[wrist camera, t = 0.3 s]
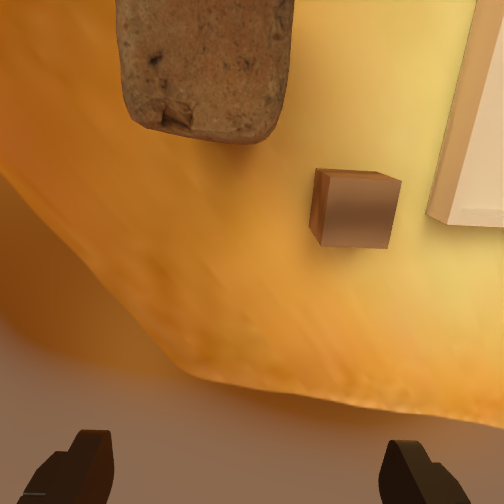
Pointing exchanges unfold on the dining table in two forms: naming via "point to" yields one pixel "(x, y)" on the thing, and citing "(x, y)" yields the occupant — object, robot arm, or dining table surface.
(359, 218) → the cube
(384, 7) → the dining table surface
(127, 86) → the block
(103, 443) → the robot arm
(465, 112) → the tray
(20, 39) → the dining table surface
